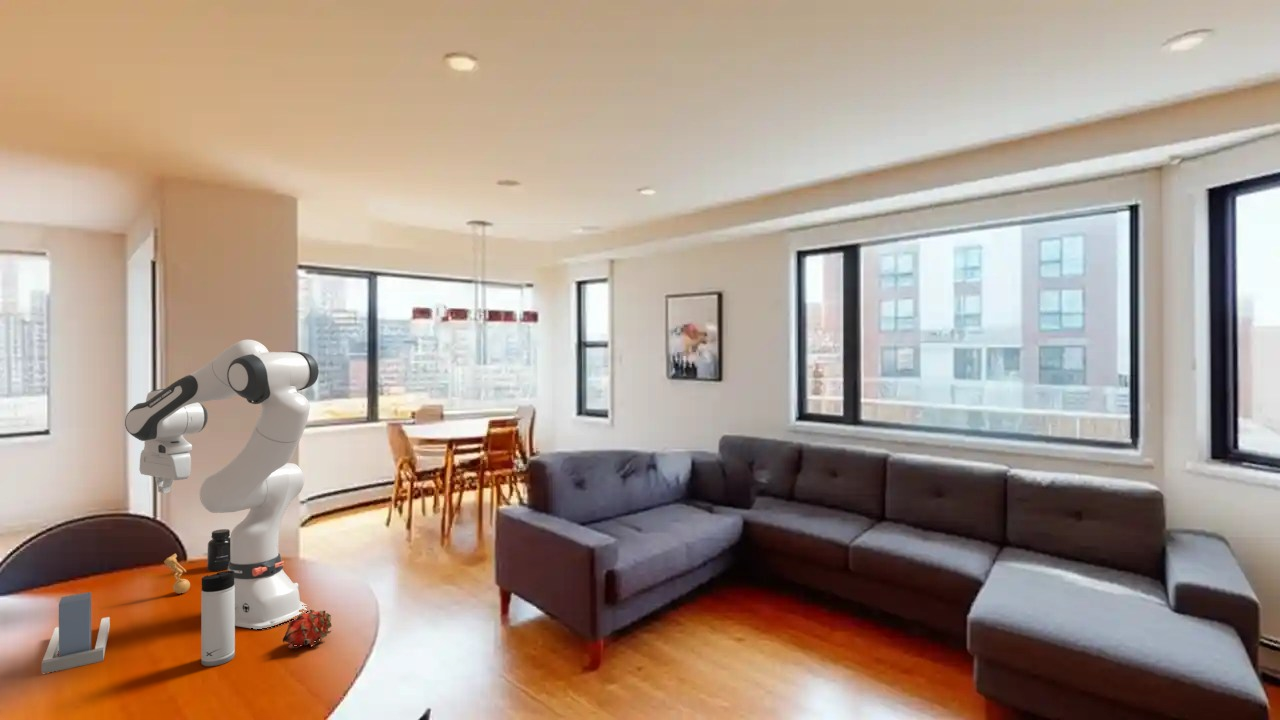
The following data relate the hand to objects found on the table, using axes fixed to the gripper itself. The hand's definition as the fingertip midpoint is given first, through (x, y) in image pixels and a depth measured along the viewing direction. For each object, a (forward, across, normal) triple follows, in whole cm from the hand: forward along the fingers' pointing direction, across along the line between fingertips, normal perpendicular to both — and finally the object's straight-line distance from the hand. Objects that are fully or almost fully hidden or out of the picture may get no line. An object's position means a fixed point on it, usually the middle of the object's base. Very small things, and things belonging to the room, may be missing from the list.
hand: (164, 492), depth 177 cm
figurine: (+29, +5, +1) cm, 30 cm away
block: (+29, +26, -30) cm, 49 cm away
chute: (+29, +20, -27) cm, 44 cm away
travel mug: (+29, +55, -15) cm, 64 cm away
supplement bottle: (+29, -7, +19) cm, 36 cm away
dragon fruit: (+30, +66, -1) cm, 72 cm away
